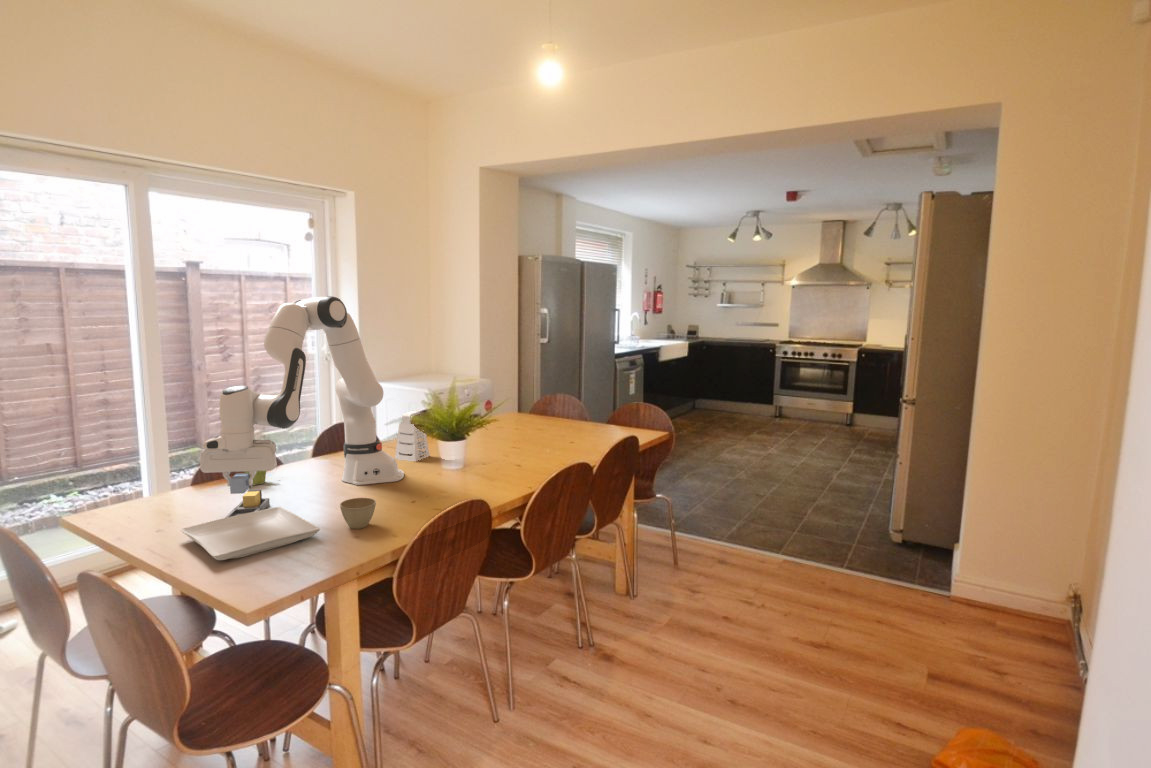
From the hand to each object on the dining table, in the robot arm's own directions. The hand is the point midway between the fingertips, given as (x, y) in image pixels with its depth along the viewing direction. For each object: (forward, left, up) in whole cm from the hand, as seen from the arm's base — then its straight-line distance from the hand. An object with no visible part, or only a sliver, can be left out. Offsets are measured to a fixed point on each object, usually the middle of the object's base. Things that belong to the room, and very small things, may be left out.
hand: (240, 485), depth 181 cm
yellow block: (0, -9, -10) cm, 13 cm away
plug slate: (0, 0, -2) cm, 2 cm away
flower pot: (-35, +11, -11) cm, 39 cm away
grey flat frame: (0, -5, -11) cm, 12 cm away
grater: (-46, -70, -11) cm, 84 cm away
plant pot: (+8, -41, -11) cm, 43 cm away
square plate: (-8, +17, -11) cm, 22 cm away
